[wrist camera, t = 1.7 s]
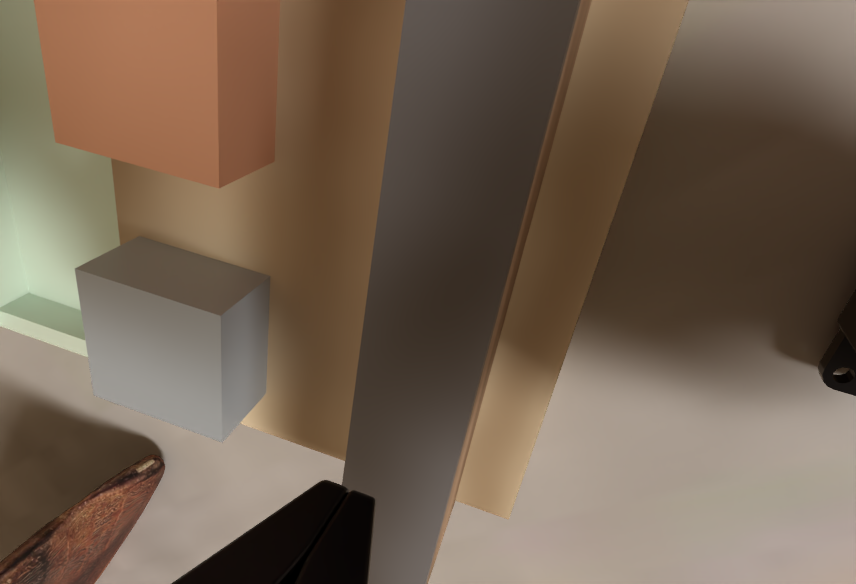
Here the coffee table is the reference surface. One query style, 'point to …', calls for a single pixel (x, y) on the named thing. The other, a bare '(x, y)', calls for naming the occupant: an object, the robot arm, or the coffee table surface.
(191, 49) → the terracotta tile
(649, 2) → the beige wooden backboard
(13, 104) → the tray
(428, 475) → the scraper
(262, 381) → the grey square block
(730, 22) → the coffee table surface
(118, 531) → the wooden tablet
